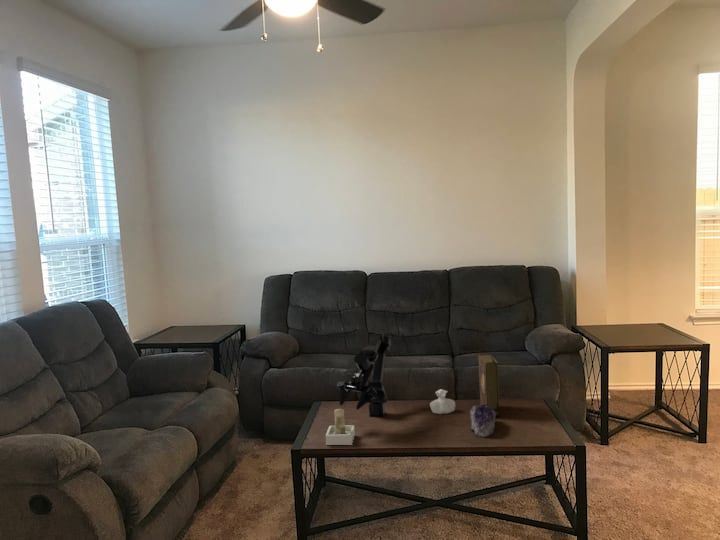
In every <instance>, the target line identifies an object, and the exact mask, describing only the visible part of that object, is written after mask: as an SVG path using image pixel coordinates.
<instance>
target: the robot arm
mask: <svg viewBox="0 0 720 540" xmlns="http://www.w3.org/2000/svg"><path fill="white" fill-rule="evenodd" d="M391 347H392V339H391V338H390V337H389V336H387V335H385V334H384V333H382V332H379V333H378V332H374V333H372V335H371V339H370V340H369V343H368V344H367V346H364V347H362V349H361V350H360V351H359V352H358V353H357V354H356V355H354V359H353V361H354V363H355V365H356V367H357V368H358V370H357V373H356V372H355V373H354V374H352V373H345V378H344V381H343V380H339V381H337V383H336V387H337V388H338V390H339V391H340V398H339V406H341V407H342V406H343V405H344V403H345V402H346V401H347V399H348V398H349V397H350V395H351V394H350V393H351V392H352V391H353V392H356V393H360V398H359V399H358V402H357V404H356V406H355V409H356V410H360V409H361V408H362V407H363V406H364V405H365V404H368V403H369V405H368V413H369V415H368V416H369V417H373V416H376V418H383V417H384V416H385V414H387V412H386V407H385V404H386V403H388V396H387V394H386V391H385V388H384V386H383V379H384V378H383V376H384V370H385V363H386V361H385V360H386V356H387V355H388V353H389V352H390V350H391ZM373 363H374V365H373ZM371 376H372V380H371V381H370V378H371Z"/></svg>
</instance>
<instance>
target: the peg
mask: <svg viewBox="0 0 720 540" xmlns="http://www.w3.org/2000/svg"><path fill="white" fill-rule="evenodd" d="M333 412H334V426H335V431H336V435H339V434H345V425H346V422H345V421H346V419H345V410H344V408H336V409H334V411H333Z"/></svg>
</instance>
